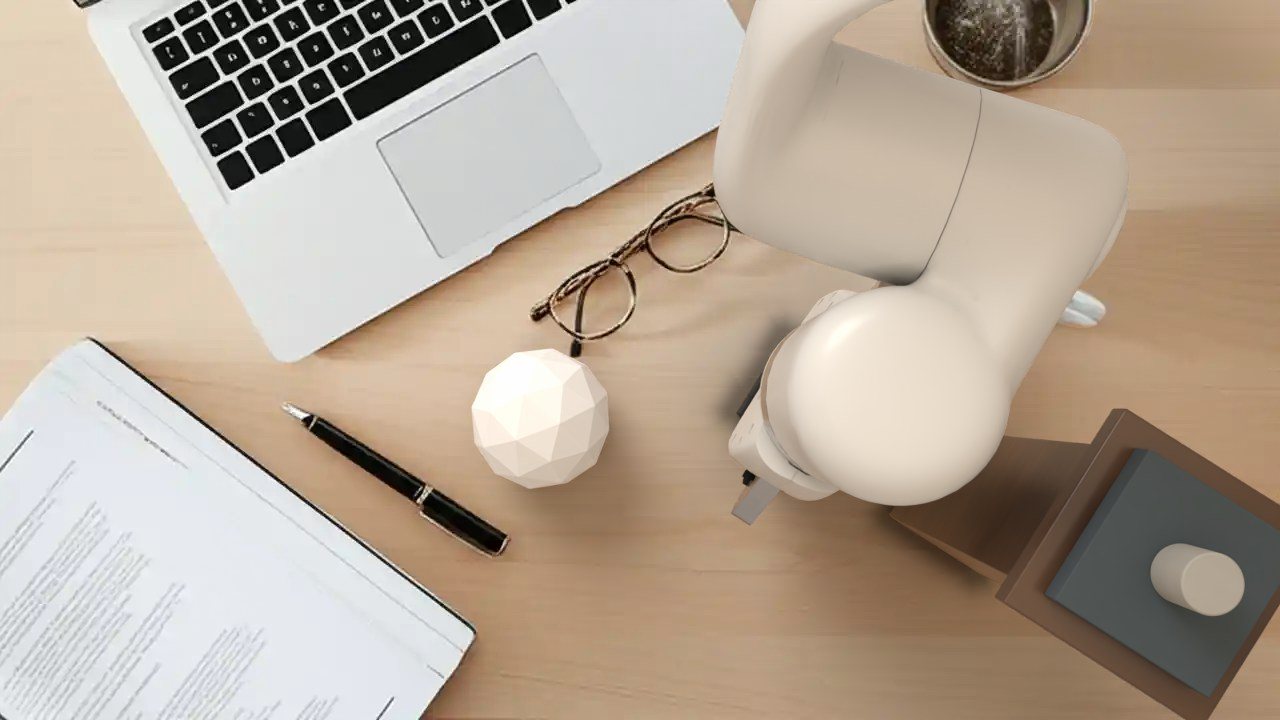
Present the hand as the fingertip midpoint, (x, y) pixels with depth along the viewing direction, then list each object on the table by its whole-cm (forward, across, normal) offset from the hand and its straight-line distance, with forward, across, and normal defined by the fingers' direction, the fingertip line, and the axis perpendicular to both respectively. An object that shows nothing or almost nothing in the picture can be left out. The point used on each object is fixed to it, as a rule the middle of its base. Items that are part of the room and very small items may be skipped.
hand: (801, 399), depth 67 cm
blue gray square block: (-28, 0, +11) cm, 30 cm away
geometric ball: (+1, +9, -12) cm, 15 cm away
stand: (0, 0, +11) cm, 11 cm away
